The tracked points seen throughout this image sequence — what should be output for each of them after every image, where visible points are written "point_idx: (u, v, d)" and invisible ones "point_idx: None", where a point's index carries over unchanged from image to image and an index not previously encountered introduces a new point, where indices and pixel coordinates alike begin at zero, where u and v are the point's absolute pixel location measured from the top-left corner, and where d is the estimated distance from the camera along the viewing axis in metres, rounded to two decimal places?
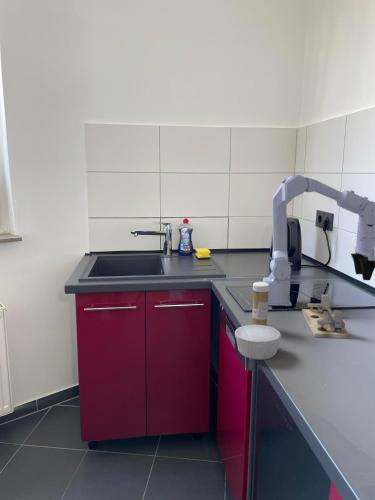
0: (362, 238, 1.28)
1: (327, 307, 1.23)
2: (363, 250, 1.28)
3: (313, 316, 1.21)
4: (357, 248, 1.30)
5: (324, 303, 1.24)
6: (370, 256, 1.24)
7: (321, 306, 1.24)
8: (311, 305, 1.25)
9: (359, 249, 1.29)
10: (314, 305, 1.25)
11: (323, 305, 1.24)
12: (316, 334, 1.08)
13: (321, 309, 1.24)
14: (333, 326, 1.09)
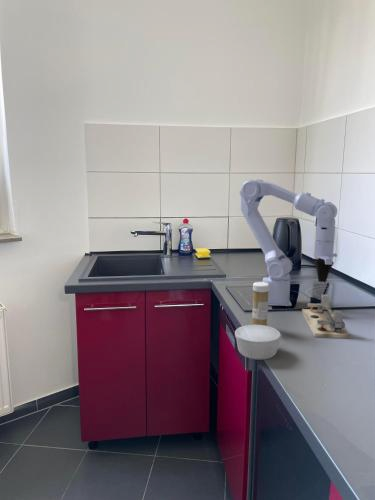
0: (320, 241, 1.25)
1: (327, 307, 1.23)
2: (321, 254, 1.25)
3: (313, 316, 1.21)
4: (315, 252, 1.27)
5: (324, 303, 1.24)
6: (327, 260, 1.20)
7: (321, 306, 1.24)
8: (311, 305, 1.25)
9: (317, 253, 1.26)
10: (314, 305, 1.25)
11: (323, 305, 1.24)
12: (316, 334, 1.08)
13: (321, 309, 1.24)
14: (333, 326, 1.09)
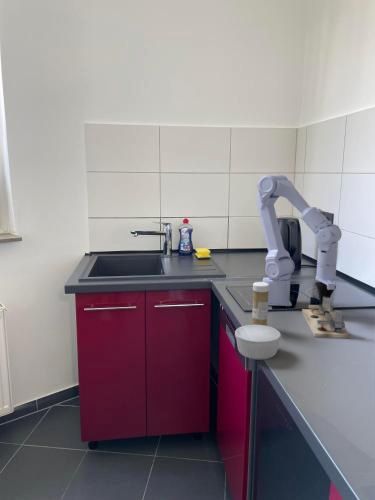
0: (322, 265, 1.21)
1: (328, 309, 1.22)
2: (323, 278, 1.22)
3: (313, 316, 1.21)
4: (317, 275, 1.24)
5: (325, 305, 1.22)
6: (329, 285, 1.17)
7: (322, 308, 1.22)
8: (312, 307, 1.23)
9: (319, 276, 1.23)
10: (315, 306, 1.23)
11: (324, 307, 1.22)
12: (316, 334, 1.08)
13: (322, 311, 1.22)
14: (333, 326, 1.09)
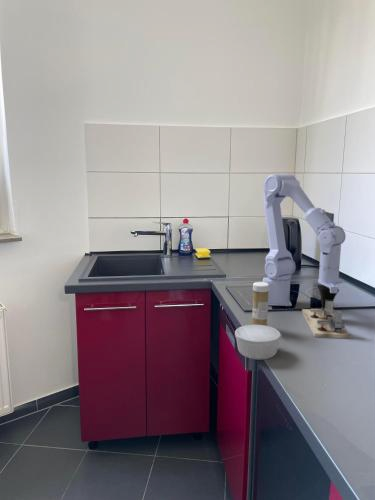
0: (324, 268, 1.18)
1: (331, 313, 1.18)
2: (326, 281, 1.18)
3: (313, 316, 1.21)
4: (320, 278, 1.20)
5: (328, 308, 1.19)
6: (332, 288, 1.14)
7: (325, 312, 1.19)
8: (314, 310, 1.20)
9: (321, 279, 1.19)
10: (318, 310, 1.20)
11: (327, 310, 1.19)
12: (316, 334, 1.08)
13: (325, 315, 1.19)
14: (333, 326, 1.09)
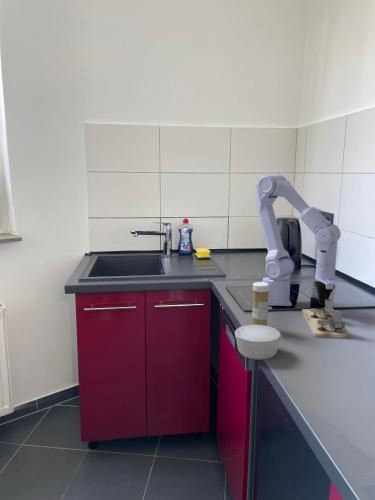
0: (321, 265, 1.22)
1: (331, 313, 1.18)
2: (322, 277, 1.23)
3: (313, 316, 1.21)
4: (316, 275, 1.24)
5: (328, 308, 1.19)
6: (328, 284, 1.18)
7: (325, 312, 1.19)
8: (314, 310, 1.20)
9: (318, 276, 1.23)
10: (318, 310, 1.20)
11: (327, 310, 1.19)
12: (316, 334, 1.08)
13: (325, 315, 1.19)
14: (333, 326, 1.09)
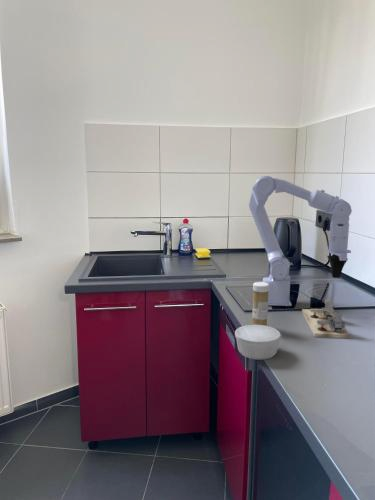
0: (334, 238, 1.26)
1: (331, 313, 1.18)
2: (335, 250, 1.27)
3: (313, 316, 1.21)
4: (330, 248, 1.28)
5: (328, 308, 1.19)
6: (341, 256, 1.22)
7: (325, 312, 1.19)
8: (314, 310, 1.20)
9: (331, 249, 1.27)
10: (318, 310, 1.20)
11: (327, 310, 1.19)
12: (316, 334, 1.08)
13: (325, 315, 1.19)
14: (333, 326, 1.09)
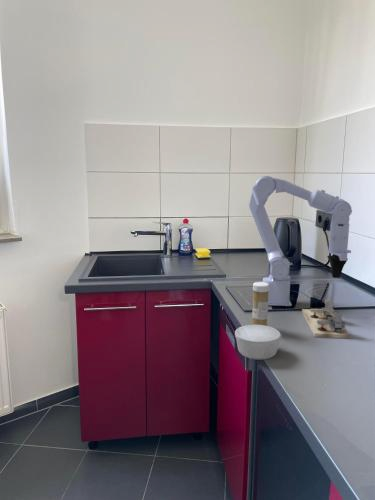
0: (334, 238, 1.26)
1: (331, 313, 1.18)
2: (335, 250, 1.27)
3: (313, 316, 1.21)
4: (330, 248, 1.28)
5: (328, 308, 1.19)
6: (341, 256, 1.22)
7: (325, 312, 1.19)
8: (314, 310, 1.20)
9: (331, 249, 1.28)
10: (318, 310, 1.20)
11: (327, 310, 1.19)
12: (316, 334, 1.08)
13: (325, 315, 1.19)
14: (333, 326, 1.09)
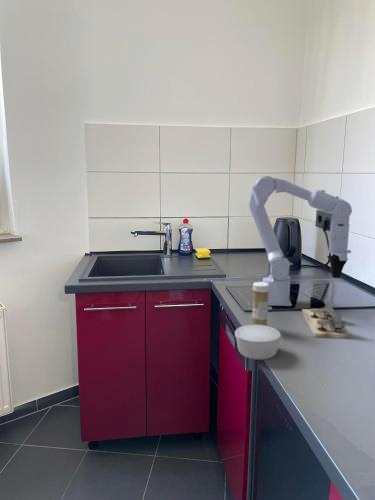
0: (334, 238, 1.26)
1: (331, 313, 1.18)
2: (335, 250, 1.27)
3: (313, 316, 1.21)
4: (330, 248, 1.28)
5: (328, 308, 1.19)
6: (341, 256, 1.22)
7: (325, 312, 1.19)
8: (314, 310, 1.20)
9: (331, 249, 1.28)
10: (318, 310, 1.20)
11: (327, 310, 1.19)
12: (316, 334, 1.08)
13: (325, 315, 1.19)
14: (333, 326, 1.09)
